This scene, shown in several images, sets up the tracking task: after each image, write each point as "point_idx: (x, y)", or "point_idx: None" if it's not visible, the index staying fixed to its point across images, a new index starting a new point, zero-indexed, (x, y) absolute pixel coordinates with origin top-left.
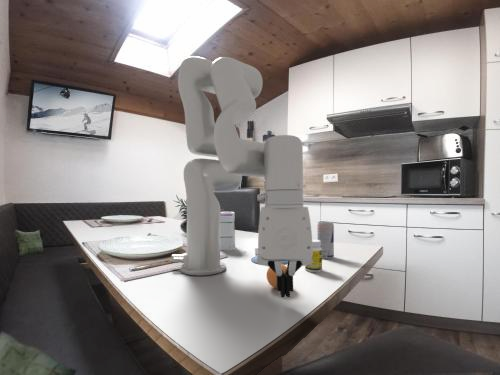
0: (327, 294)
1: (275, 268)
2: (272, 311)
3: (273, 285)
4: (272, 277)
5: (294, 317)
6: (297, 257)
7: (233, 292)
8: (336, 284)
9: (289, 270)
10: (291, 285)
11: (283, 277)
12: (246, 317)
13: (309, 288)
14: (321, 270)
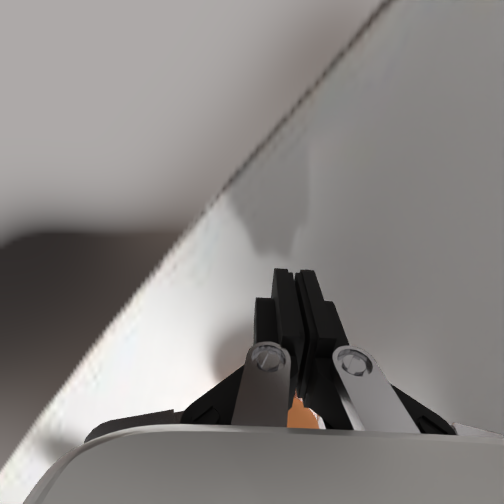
0: (106, 348)
1: (392, 390)
2: (346, 232)
3: (298, 399)
4: (309, 427)
5: (270, 178)
6: (227, 454)
7: (444, 377)
8: (64, 412)
9: (286, 371)
10: (264, 313)
11: (323, 332)
12: (468, 187)
13: (163, 391)
14: None
